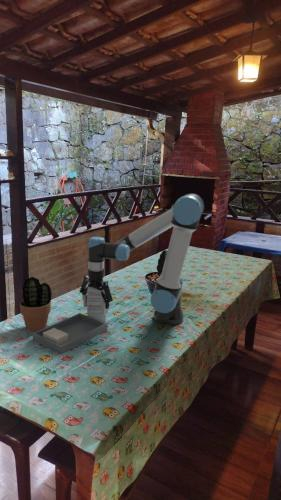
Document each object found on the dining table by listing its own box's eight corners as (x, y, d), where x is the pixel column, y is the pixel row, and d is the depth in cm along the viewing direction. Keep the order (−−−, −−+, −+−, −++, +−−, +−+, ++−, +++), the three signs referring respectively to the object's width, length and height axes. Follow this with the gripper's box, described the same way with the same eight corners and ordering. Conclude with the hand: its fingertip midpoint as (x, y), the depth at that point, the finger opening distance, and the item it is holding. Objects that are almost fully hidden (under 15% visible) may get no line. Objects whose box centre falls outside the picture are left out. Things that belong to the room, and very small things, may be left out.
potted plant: (35, 338, 161) (33, 284, 154) (14, 329, 167) (11, 277, 161) (57, 327, 172) (56, 276, 166) (37, 319, 179) (35, 270, 173)
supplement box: (88, 314, 187) (88, 283, 182) (106, 314, 187) (106, 283, 183) (86, 323, 177) (86, 290, 173) (105, 323, 178) (106, 290, 174)
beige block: (68, 342, 156) (68, 334, 155) (57, 348, 151) (57, 339, 150) (54, 336, 161) (54, 327, 160) (43, 341, 156) (43, 332, 155)
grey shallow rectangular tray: (107, 331, 169) (107, 323, 168) (61, 355, 147) (61, 346, 146) (79, 320, 180) (79, 312, 179) (32, 341, 157) (32, 333, 156)
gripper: (121, 272, 171) (119, 315, 176) (83, 262, 185) (82, 301, 190) (110, 276, 165) (109, 320, 170) (72, 265, 179) (72, 306, 184)
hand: (95, 310), depth 180 cm, fingers closed on supplement box, 13 cm apart
